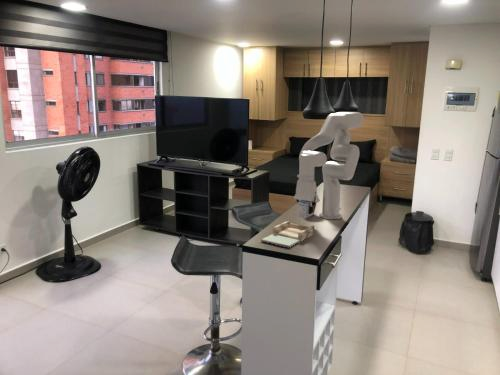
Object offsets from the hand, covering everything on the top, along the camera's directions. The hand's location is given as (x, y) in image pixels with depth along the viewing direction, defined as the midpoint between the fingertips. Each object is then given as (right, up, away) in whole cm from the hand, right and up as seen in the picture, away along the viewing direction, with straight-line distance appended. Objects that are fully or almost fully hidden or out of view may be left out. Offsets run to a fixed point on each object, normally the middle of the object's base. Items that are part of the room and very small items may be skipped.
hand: (306, 212), depth 211 cm
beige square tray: (-8, -11, -12) cm, 18 cm away
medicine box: (0, -2, 0) cm, 2 cm away
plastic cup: (+5, -3, +26) cm, 26 cm away
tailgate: (-12, -10, -18) cm, 24 cm away
